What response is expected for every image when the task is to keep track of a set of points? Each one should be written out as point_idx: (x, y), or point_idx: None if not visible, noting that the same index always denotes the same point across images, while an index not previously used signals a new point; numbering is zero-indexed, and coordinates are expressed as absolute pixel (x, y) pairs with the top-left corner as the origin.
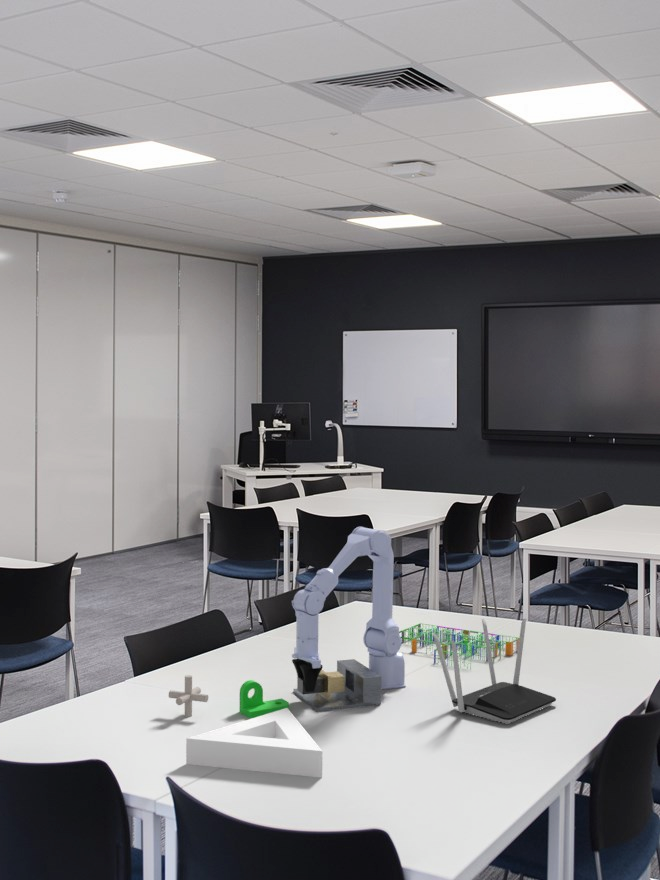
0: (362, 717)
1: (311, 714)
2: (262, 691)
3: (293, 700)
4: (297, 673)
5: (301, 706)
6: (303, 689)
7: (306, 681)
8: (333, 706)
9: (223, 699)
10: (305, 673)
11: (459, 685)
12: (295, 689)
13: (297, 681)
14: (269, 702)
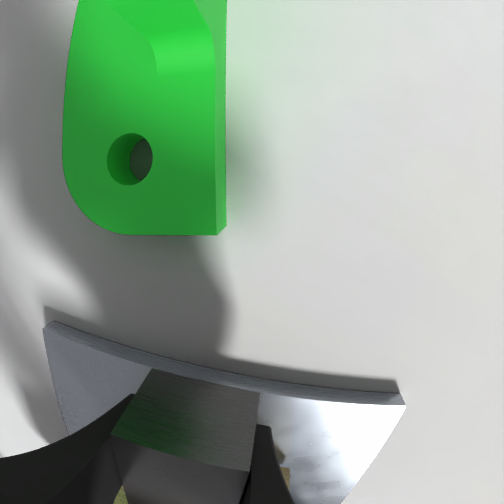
0: (6, 393)
1: (39, 284)
2: (115, 7)
3: (281, 337)
4: (272, 496)
5: (155, 316)
6: (138, 393)
7: (79, 433)
8: (58, 393)
9: (482, 10)
10: (14, 457)
11: None
12: (390, 410)
13: (253, 439)
14: (170, 103)
